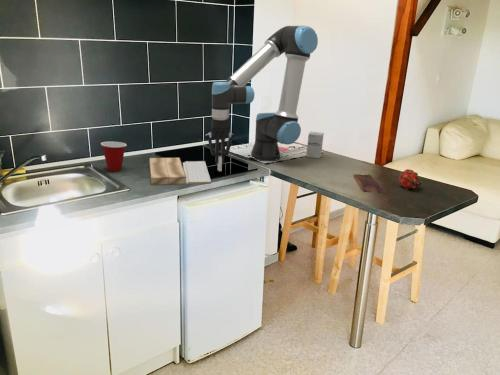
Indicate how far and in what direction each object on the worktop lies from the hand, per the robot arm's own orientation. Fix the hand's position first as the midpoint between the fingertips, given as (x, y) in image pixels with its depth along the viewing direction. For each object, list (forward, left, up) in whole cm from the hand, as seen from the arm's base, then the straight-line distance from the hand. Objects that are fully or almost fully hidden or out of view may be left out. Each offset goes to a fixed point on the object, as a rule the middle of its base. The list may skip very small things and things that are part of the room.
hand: (219, 170), depth 193 cm
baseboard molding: (+11, 0, -2) cm, 11 cm away
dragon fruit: (-77, +30, -1) cm, 83 cm away
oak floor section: (+24, 0, -1) cm, 24 cm away
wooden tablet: (-62, +22, -2) cm, 66 cm away
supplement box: (-55, -24, -1) cm, 60 cm away
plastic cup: (+46, -8, -1) cm, 46 cm away
